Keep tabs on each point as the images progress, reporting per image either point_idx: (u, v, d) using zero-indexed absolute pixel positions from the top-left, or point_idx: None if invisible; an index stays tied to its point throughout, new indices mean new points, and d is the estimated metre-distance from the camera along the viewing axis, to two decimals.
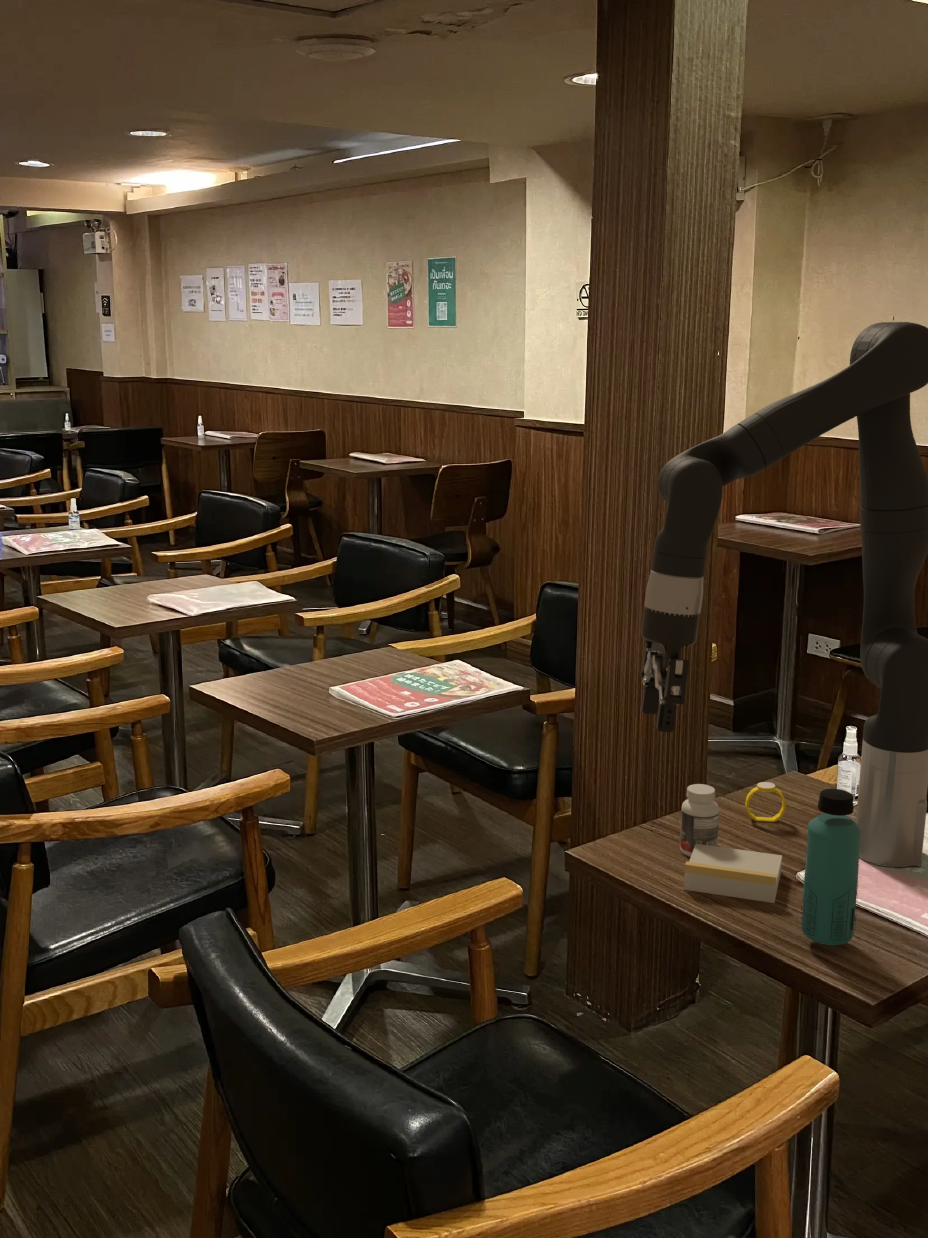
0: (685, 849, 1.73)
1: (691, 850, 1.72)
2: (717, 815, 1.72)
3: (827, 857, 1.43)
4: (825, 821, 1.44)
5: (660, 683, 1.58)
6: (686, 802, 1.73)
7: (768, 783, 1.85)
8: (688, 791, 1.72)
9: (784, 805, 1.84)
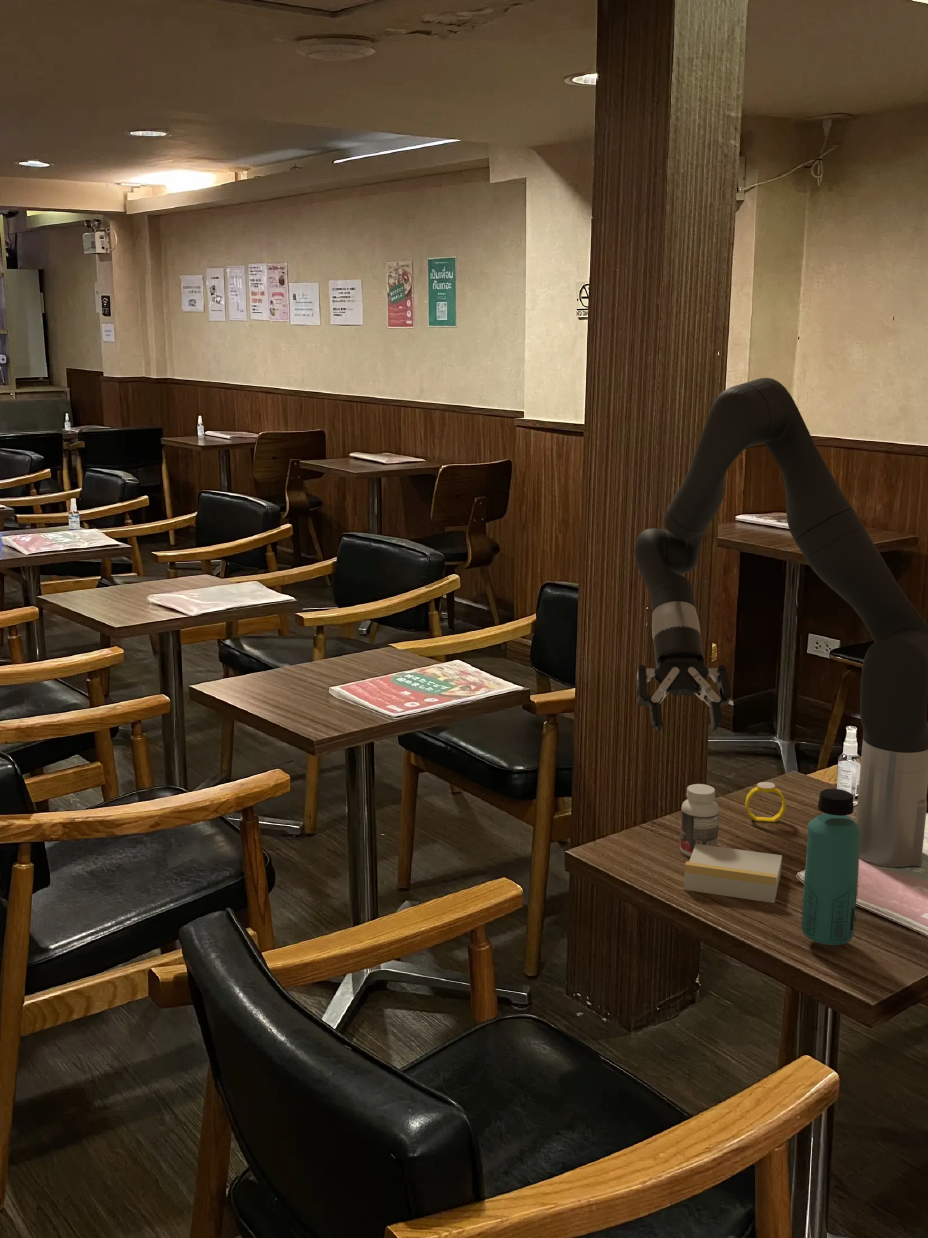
0: (685, 849, 1.73)
1: (691, 850, 1.72)
2: (717, 815, 1.72)
3: (827, 857, 1.43)
4: (825, 821, 1.44)
5: None
6: (686, 802, 1.73)
7: (768, 783, 1.85)
8: (688, 791, 1.72)
9: (784, 805, 1.84)
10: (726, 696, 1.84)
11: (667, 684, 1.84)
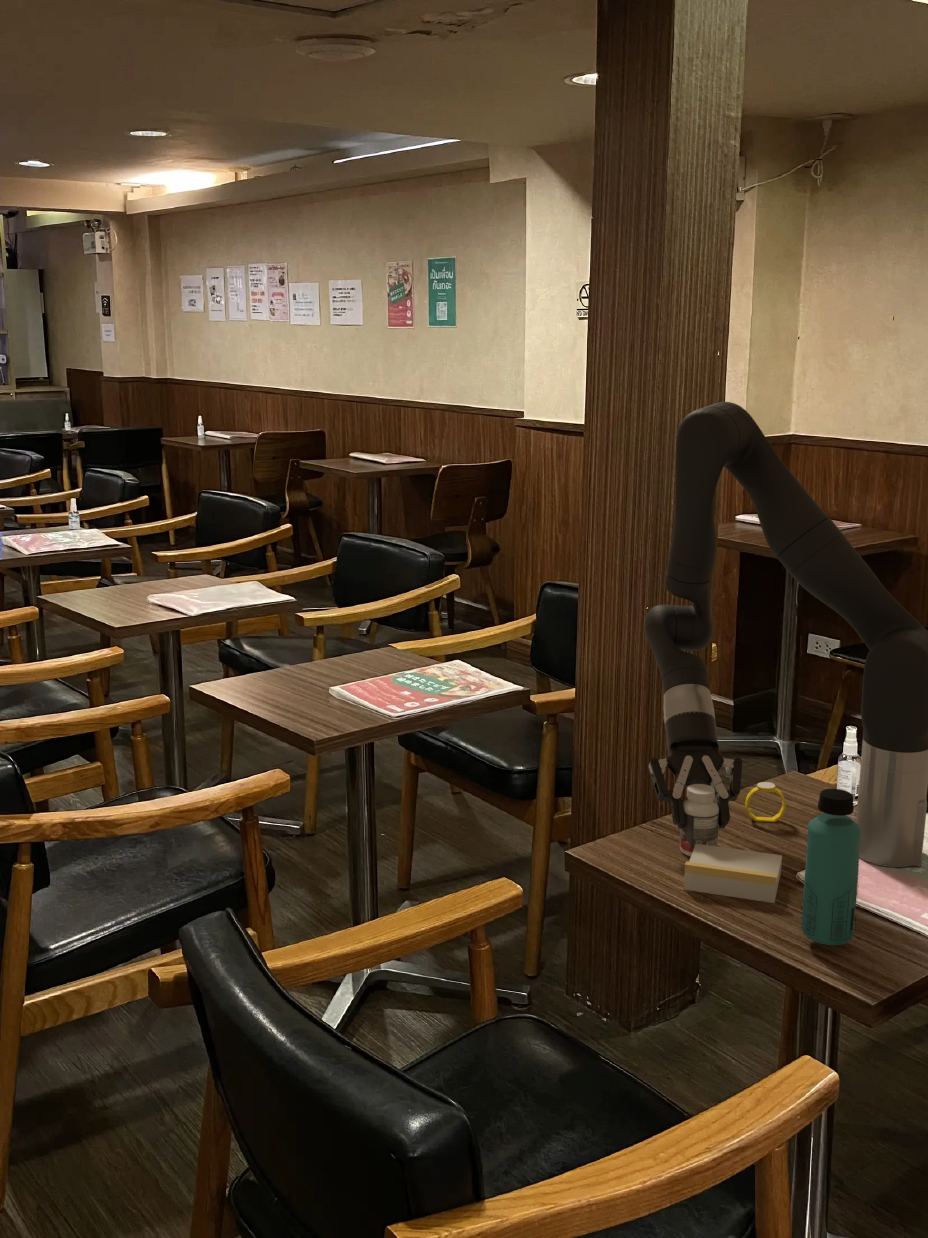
0: (685, 849, 1.73)
1: (691, 850, 1.72)
2: (717, 815, 1.72)
3: (827, 857, 1.43)
4: (825, 821, 1.44)
5: None
6: (686, 802, 1.73)
7: (768, 783, 1.85)
8: (688, 791, 1.72)
9: (784, 805, 1.84)
10: (734, 791, 1.73)
11: (685, 775, 1.74)
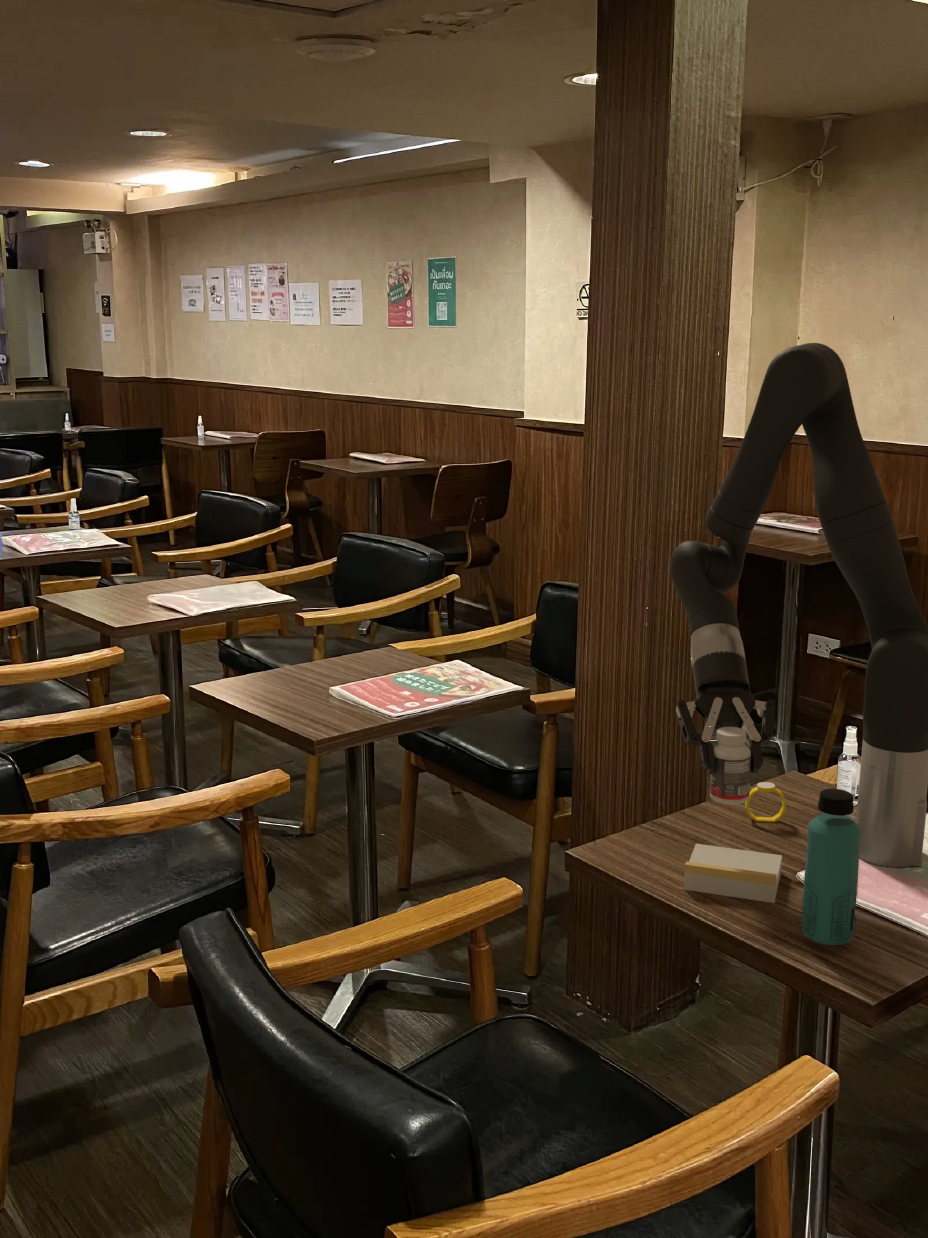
0: (715, 795, 1.64)
1: (722, 796, 1.63)
2: (749, 758, 1.62)
3: (827, 857, 1.43)
4: (825, 821, 1.44)
5: None
6: (716, 745, 1.64)
7: (768, 783, 1.85)
8: (718, 733, 1.63)
9: (784, 805, 1.84)
10: (767, 734, 1.64)
11: (714, 718, 1.65)
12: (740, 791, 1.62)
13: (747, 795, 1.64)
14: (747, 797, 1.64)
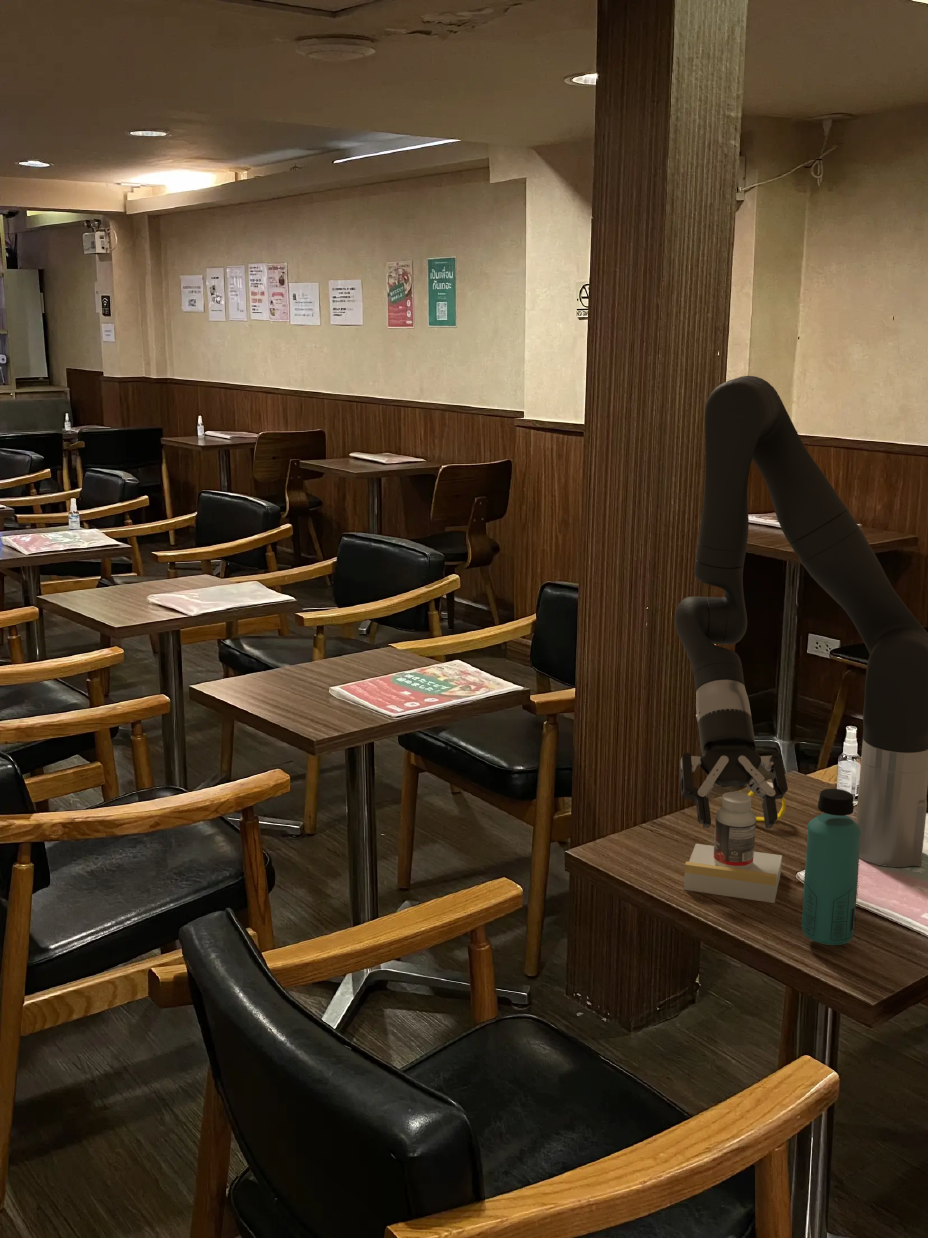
0: (719, 861, 1.63)
1: (726, 862, 1.62)
2: (754, 825, 1.62)
3: (827, 857, 1.43)
4: (825, 821, 1.44)
5: None
6: (721, 811, 1.63)
7: (768, 783, 1.85)
8: (723, 799, 1.62)
9: (784, 805, 1.84)
10: (782, 789, 1.63)
11: (716, 775, 1.64)
12: (744, 858, 1.62)
13: (751, 861, 1.63)
14: (751, 863, 1.63)
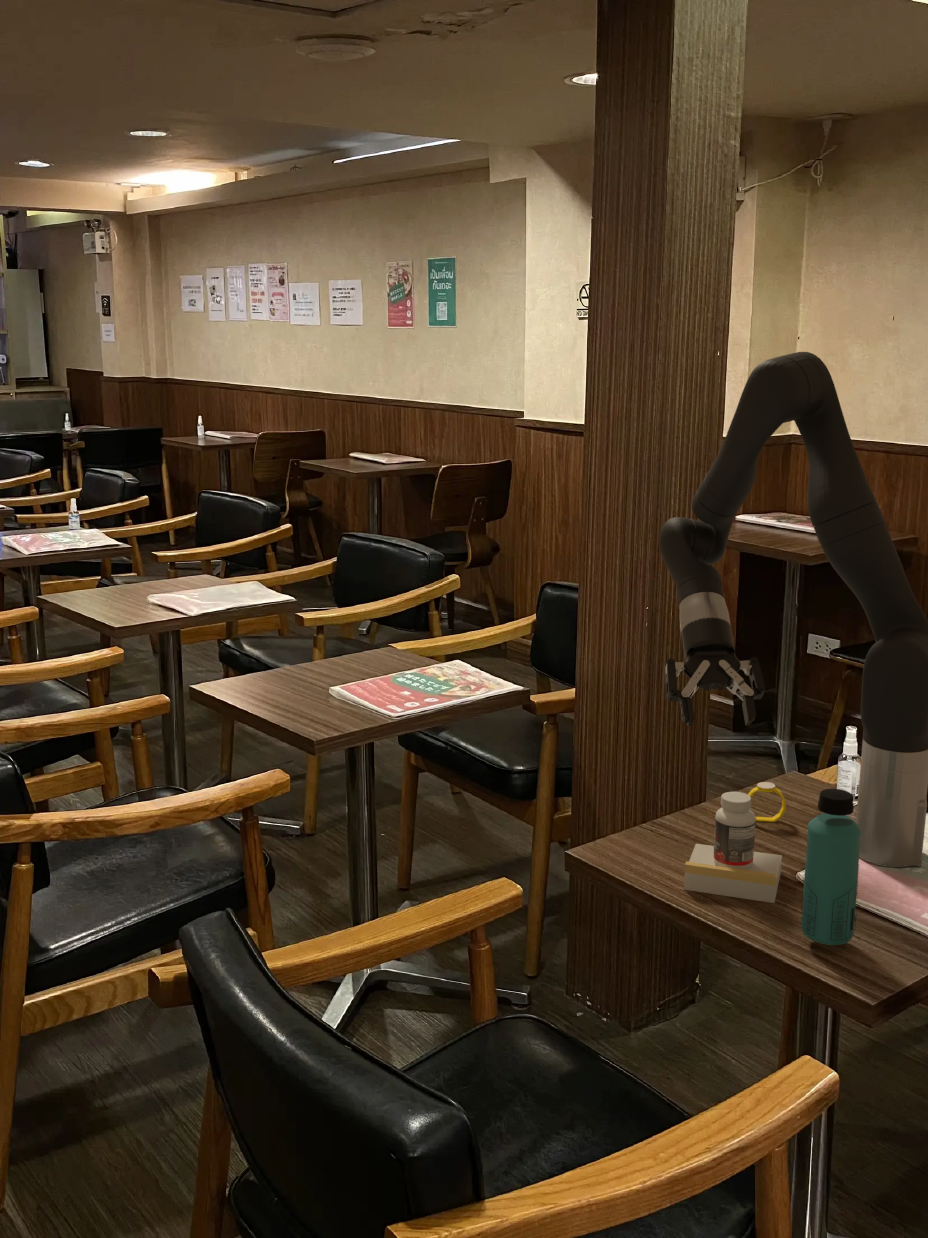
0: (719, 861, 1.63)
1: (726, 862, 1.62)
2: (753, 824, 1.62)
3: (827, 857, 1.43)
4: (825, 821, 1.44)
5: None
6: (720, 811, 1.63)
7: (768, 783, 1.85)
8: (723, 799, 1.62)
9: (784, 805, 1.84)
10: (760, 689, 1.76)
11: (698, 677, 1.76)
12: (744, 857, 1.62)
13: (751, 861, 1.63)
14: (751, 863, 1.63)
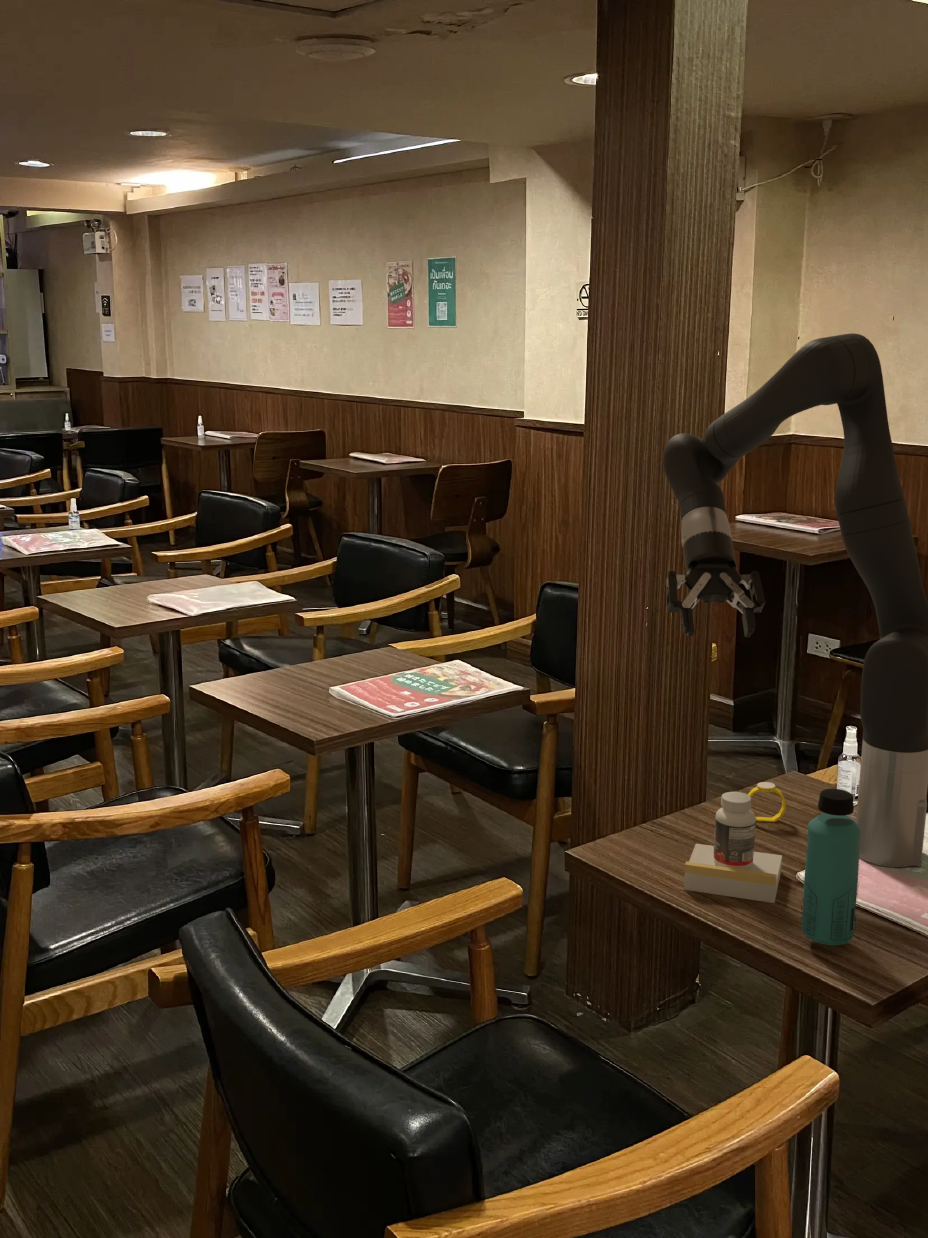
0: (719, 861, 1.63)
1: (726, 862, 1.62)
2: (754, 825, 1.62)
3: (827, 857, 1.43)
4: (825, 821, 1.44)
5: None
6: (720, 811, 1.63)
7: (768, 783, 1.85)
8: (723, 799, 1.62)
9: (784, 805, 1.84)
10: (760, 601, 1.77)
11: (699, 589, 1.77)
12: (744, 858, 1.62)
13: (751, 861, 1.63)
14: (751, 863, 1.63)
